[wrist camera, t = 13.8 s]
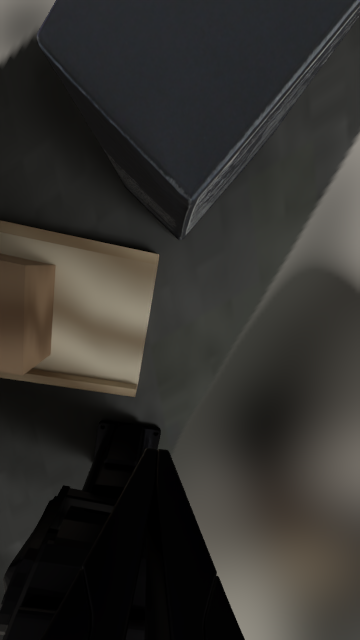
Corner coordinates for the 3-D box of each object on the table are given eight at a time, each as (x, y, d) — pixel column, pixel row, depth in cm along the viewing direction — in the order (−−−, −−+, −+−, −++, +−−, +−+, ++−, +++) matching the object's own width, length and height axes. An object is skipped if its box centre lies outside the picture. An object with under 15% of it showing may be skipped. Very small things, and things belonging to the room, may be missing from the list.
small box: (214, 51, 13) (349, -604, 3) (276, 132, 15) (503, -156, 5) (118, 182, 15) (14, 18, 5) (181, 243, 17) (197, 209, 6)
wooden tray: (137, 388, 20) (128, 418, 16) (-106, 352, 18) (-184, 377, 14) (159, 255, 17) (155, 252, 13) (-136, 192, 15) (-250, 165, 11)
